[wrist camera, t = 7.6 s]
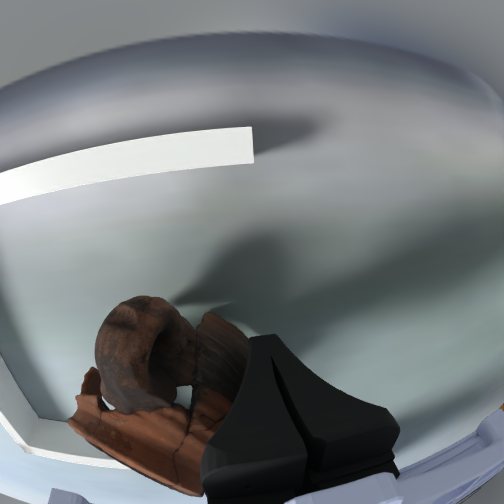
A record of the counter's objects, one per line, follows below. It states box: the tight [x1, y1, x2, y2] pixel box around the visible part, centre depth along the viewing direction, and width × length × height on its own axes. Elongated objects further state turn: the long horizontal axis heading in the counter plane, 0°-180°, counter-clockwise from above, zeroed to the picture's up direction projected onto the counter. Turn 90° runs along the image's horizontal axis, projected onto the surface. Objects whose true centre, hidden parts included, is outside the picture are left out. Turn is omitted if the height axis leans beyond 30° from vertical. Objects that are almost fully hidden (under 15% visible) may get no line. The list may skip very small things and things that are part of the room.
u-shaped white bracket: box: [0, 127, 254, 469], centre depth 13 cm, size 18×18×3 cm
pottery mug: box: [67, 296, 249, 497], centre depth 13 cm, size 12×10×8 cm
